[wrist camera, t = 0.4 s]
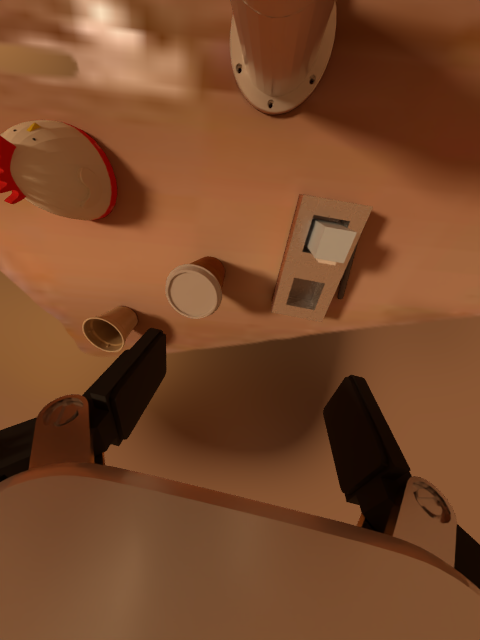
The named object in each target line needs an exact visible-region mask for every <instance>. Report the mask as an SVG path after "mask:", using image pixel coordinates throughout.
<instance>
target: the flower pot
mask: <svg viewBox="0 0 480 640" xmlns="http://www.w3.org/2000/svg"><path fill="white" fill-rule="evenodd" d="M137 322H138V320H137V315H136V314H135V313H134V311H132V310H131V309H130V308H128V307H123V306H119V307H116V308H114V309H112V310H110V311H108V312H106V313H104V314H102V315H100V316H96V317H91V318H88V319H86V320H85V321H84V322H83V325H82V330H83V333H84V335H85V337H86V338H87V339H88V340H89V341H90V342H91V343H92V344H93V345H94V346H96V347H97V348H99V349H101V350H104V351H107V352H117V351H119V350H121V349H122V348H123V346H124V343H125V341H126V338H127V337H128V335H129V334H130V332H131V331H132V330H133V328H134V327H135V326H136V324H137Z"/></svg>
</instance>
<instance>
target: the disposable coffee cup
mask: <svg viewBox="0 0 480 640" xmlns="http://www.w3.org/2000/svg"><path fill="white" fill-rule="evenodd" d="M224 277H225V269H224V266H223V265H222V263H221V262H220V261H219V260H218V259H216V258H214V257H204V258H201V259H199V260H197V261H195V262H193V263H190V264H184V265H180V266H178V267H176V268H175V269H173V270H172V271H171V273H170V274H169V275H168V277H167V281H166V289H165V291H166V296H167V299H168V301H169V303H170V305H171V306H172V307H173V308H174V309H175V310H176V311H177V312H178V313H180V314H181V315H183V316H186V317H189V318H195V319H199V318H204V317H206V316H209V315H211V314H213V313H214V312H215V311H216V310H217V309H218V307H219V306H220V303H221V300H222V291H221V290H222V286H223V281H224Z"/></svg>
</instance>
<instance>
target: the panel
mask: <svg viewBox="0 0 480 640" xmlns="http://www.w3.org/2000/svg"><path fill="white" fill-rule="evenodd" d="M372 208H373V207H371V206H366V205H360V204H354V203H348V202H343V201H337V200H331V199H325V198H320V197H314V196H308V195H301V194H299V198H298V202H297V206H296V210H295V214H294V217H293V221H292V225H291V229H290V233H289V237H288V240H287V244H286V248H285V252H284V256H283V260H282V263H281V267H280V271H279V275H278V279H277V283H276V286H275V290H274V294H273V298H272V313H278V314H283V315H288V316H293V317H298V318H303V319H308V320H313V321H318V322H322V321H323V319H324V316H325V314H326V312H327V310H328V307H329V305H330V303H331V301H332V298H333V296H334V294H335V292H336V289H337V287H338V285H339V282H340V280H341V278H342V276H343V273H344V271H345V269H346V267H347V264H348V262H349V260H350V258H351V255H352V253H353V251H354V249H355V246H356V244H357V242H358V240H359V237H360V235H361V233H362V231H363V228H364V226H365V224H366V222H367V219H368V217H369V215H370V212H371V210H372ZM312 218H314V219H319V220H325V221H330V222H336V223H338V224H340V225H343V226H345V227H347V228H349V229H351V230H353V231H355V232H357V234H356V236H355V238H354V241H353V243H352V245H351V247H350V250H349V252H348V254H347V257H346V259H345V261H344V263H339V262H336V265H330V264H325V263H319V262H318V261H317V260H316V258H314V256H313V255H312V253H311V252H310V250H309V249H308V247H307V245H306V244H305V241H306V238H307V234H308V231H309V228H310V225H311V221H312Z"/></svg>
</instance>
